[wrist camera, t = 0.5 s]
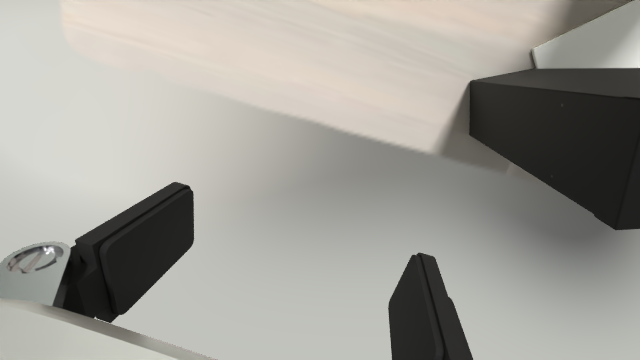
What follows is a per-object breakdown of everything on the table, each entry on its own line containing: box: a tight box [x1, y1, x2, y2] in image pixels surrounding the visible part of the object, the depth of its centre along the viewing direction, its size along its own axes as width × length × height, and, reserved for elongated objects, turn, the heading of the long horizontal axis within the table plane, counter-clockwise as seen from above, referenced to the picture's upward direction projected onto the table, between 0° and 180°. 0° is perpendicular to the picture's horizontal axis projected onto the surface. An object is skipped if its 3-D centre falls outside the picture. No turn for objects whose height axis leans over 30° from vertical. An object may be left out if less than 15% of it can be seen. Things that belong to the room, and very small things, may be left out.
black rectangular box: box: [469, 68, 640, 230], centre depth 23 cm, size 8×8×28 cm
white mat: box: [531, 0, 640, 69], centre depth 31 cm, size 20×14×1 cm
